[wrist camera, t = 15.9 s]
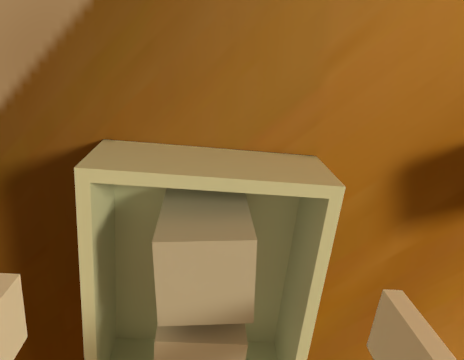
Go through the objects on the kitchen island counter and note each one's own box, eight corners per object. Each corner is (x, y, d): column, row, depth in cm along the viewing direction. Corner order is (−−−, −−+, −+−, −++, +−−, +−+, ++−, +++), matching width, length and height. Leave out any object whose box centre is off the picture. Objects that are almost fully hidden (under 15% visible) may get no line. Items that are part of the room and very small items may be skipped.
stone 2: (229, 320, 23) (236, 410, 17) (164, 317, 22) (150, 409, 17) (236, 265, 21) (247, 345, 16) (168, 261, 21) (154, 341, 15)
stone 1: (240, 248, 21) (253, 323, 15) (170, 249, 21) (157, 326, 15) (242, 183, 20) (257, 240, 14) (167, 184, 19) (151, 242, 14)
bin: (280, 344, 24) (295, 408, 20) (108, 340, 23) (86, 406, 19) (315, 156, 20) (345, 186, 16) (103, 139, 19) (73, 167, 14)
